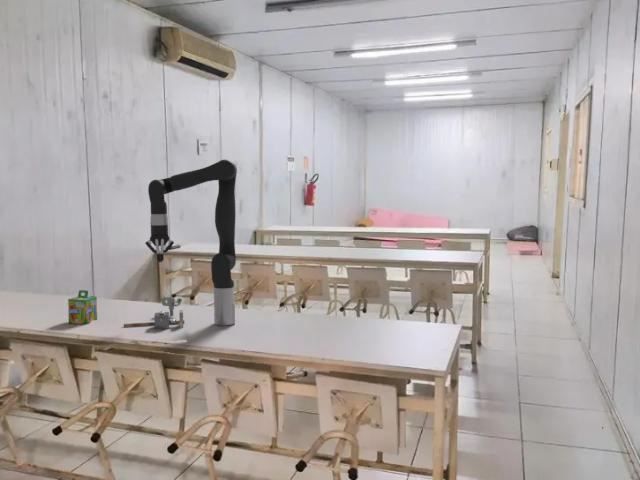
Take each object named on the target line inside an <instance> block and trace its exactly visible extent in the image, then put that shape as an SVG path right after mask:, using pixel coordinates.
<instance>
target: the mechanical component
mask: <svg viewBox="0 0 640 480" xmlns="http://www.w3.org/2000/svg"><path fill="white" fill-rule="evenodd" d="M160 301H161V305H162V306H164V307H168V310H169V317H174V309H175V307H179V306H181V304H182V301H183V300H182V298H180V297H178V298H177V299H175V297H173V296H169V297H168V296H163V297H161V298H160Z"/></svg>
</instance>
